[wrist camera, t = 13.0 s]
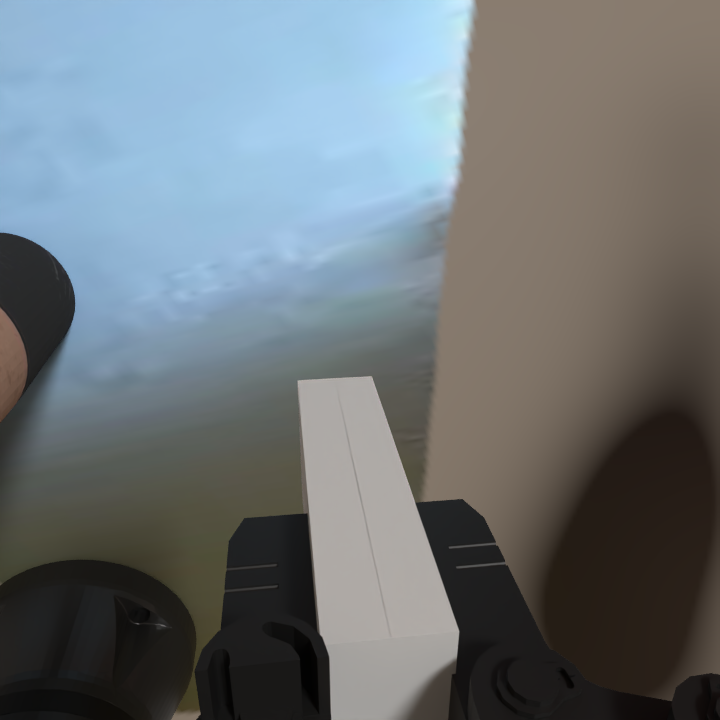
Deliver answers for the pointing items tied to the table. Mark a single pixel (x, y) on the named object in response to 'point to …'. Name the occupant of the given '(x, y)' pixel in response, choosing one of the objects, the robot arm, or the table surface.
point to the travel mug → (29, 314)
